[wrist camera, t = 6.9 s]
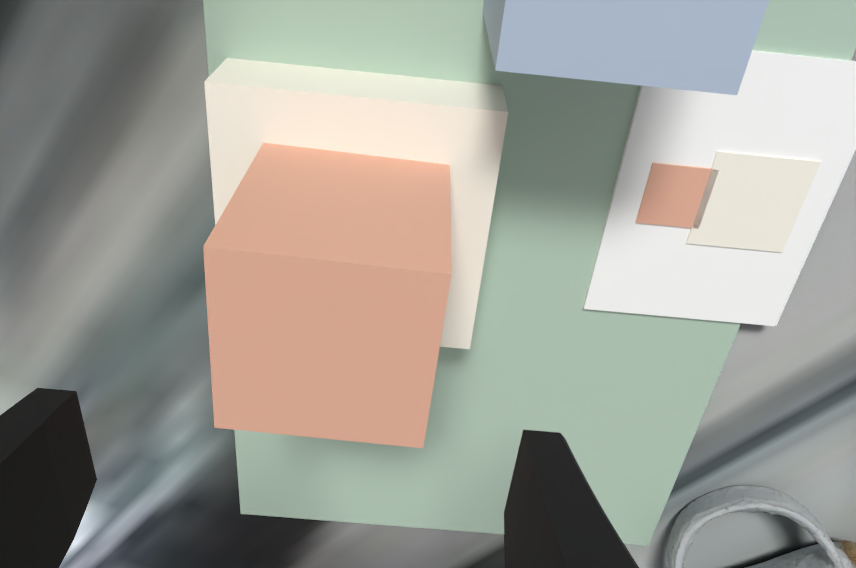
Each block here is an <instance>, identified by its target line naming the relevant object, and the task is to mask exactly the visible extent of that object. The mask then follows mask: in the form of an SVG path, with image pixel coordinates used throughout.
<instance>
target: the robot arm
mask: <svg viewBox="0 0 856 568" xmlns="http://www.w3.org/2000/svg"><path fill="white" fill-rule="evenodd" d="M96 480H97V478H96V474H95V470H94V465H93V461H92V457H91V453H90V448H89V444H88V440H87V435H86V431H85V427H84V422H83V418H82V414H81V410H80V405H79V401H78V397H77V392H76V391H67V390H56V389H44V388H37V389H36V390H34V391H33V392H31V393H30V394H29V395H27V396H26V397H24V398H23V399H22V400H20V401H19V402H18V403H16V404H15V405H14V406H12V407H11V408H10V409H8V410H7V411H6V412H4V413H3V414H2V415H0V568H59V566H60V564H61V562H62V560H63V559H64V557H65V555H66V553H67V551H68V549H69V547H70V545H71V543H72V541H73V540H74V537H75V535H76V532H77V530H78V527H79V525H80V522H81V520H82V517H83V515H84V512H85V510H86V507H87V504H88V502H89V499H90V496H91V494H92V491H93V488H94V486H95V483H96ZM504 545H505V568H639V567H638V565H637V564H636V562H635V561H634V559H633V558H632V556H631V555H630V553H629V551H628V550H627V548H626V546H625V545H624V543H623V542H622V540H621V538H620V537H619V535H618V533H617V532H616V530H615V529H614V527H613V525H612V524H611V522H610V521H609V519H608V517H607V515H606V514H605V512H604V510H603V509H602V507H601V505H600V503H599V502H598V500H597V498H596V496H595V494H594V493H593V491H592V489H591V487H590V485H589V484H588V482H587V480H586V478H585V476H584V474H583V472H582V471H581V469H580V467H579V465H578V463H577V461H576V459H575V457H574V455H573V453H572V451H571V449H570V447H569V445H568V443H567V441H566V439H565V438H564V436H563V435H562V434H561V433H558V432H547V431H535V430H523V432H522V437H521V441H520V445H519V450H518V454H517V458H516V463H515V467H514V471H513V475H512V480H511V484H510V488H509V493H508V497H507V501H506V505H505V510H504Z"/></svg>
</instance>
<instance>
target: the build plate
mask: <svg viewBox="0 0 856 568" xmlns="http://www.w3.org/2000/svg"><path fill="white" fill-rule="evenodd" d="M483 4H484V0H203V8H204V21H205V35H206V48H207V62H208V76H210V75H211V74H212V73H213V72H214V71H215V70H216V69H217V68H218V67H219V66H220V65H221V64H222V63H223V61H224V60H225V59H226V58H234V59H244V60H254V61H264V62H273V63H283V64H293V65H303V66H313V67H323V68H333V69H343V70H352V71H362V72H372V73H382V74H392V75H402V76H412V77H422V78H431V79H441V80H451V81H461V82H471V83H481V84H491V85H501V86H502V87H503V91H504V95H505V100H506V104H507V109H508V117H507V123H506V129H505V135H504V142H503V148H502V154H501V160H500V166H499V172H498V179H497V185H496V191H495V197H494V203H493V209H492V216H491V222H490V228H489V234H488V240H487V246H486V253H485V259H484V265H483V271H482V277H481V283H480V290H479V296H478V302H477V308H476V314H475V320H474V327H473V333H472V339H471V345H470V349H462V348H451V347H440V348H439V355H438V361H437V367H436V373H435V379H434V385H433V391H432V398H431V404H430V410H429V416H428V422H427V428H426V434H425V440H424V447H423V448H415V447H405V446H395V445H385V444H374V443H364V442H354V441H344V440H334V439H324V438H314V437H304V436H294V435H284V434H274V433H264V432H254V431H244V430H235V443H236V457H237V470H238V484H239V498H240V511H241V514H250V515H263V516H276V517H288V518H301V519H314V520H327V521H340V522H352V523H365V524H378V525H391V526H403V527H416V528H429V529H442V530H455V531H467V532H480V533H493V534H504V510H505V505H506V501H507V497H508V493H509V488H510V484H511V480H512V475H513V471H514V467H515V463H516V458H517V454H518V450H519V445H520V441H521V437H522V432H523V430H535V431H547V432H558V433H561V434H562V435H563V436H564V438H565V439H566V441H567V443H568V445H569V447H570V449H571V451H572V453H573V455H574V457H575V459H576V461H577V463H578V465H579V467H580V469H581V471H582V472H583V474H584V476H585V478H586V480H587V482H588V484H589V485H590V487H591V489H592V491H593V493H594V494H595V496H596V498H597V500H598V502H599V503H600V505H601V507H602V509H603V510H604V512H605V514H606V515H607V517H608V519H609V521H610V522H611V524H612V525H613V527H614V529H615V530H616V532H617V533H618V535H619V537H620V538H621V540H622V542H623V543H624V544H633V545H646V546H649V543H650V541H651V538H652V536H653V534H654V531H655V529H656V526H657V524H658V522H659V519H660V517H661V514H662V512H663V510H664V507H665V505H666V502H667V500H668V498H669V495H670V493H671V490H672V488H673V486H674V483H675V481H676V478H677V476H678V474H679V471H680V469H681V466H682V464H683V462H684V459H685V457H686V454H687V452H688V450H689V447H690V445H691V442H692V440H693V438H694V435H695V433H696V430H697V428H698V426H699V423H700V421H701V418H702V416H703V414H704V411H705V409H706V406H707V404H708V402H709V399H710V397H711V394H712V392H713V390H714V387H715V385H716V382H717V380H718V378H719V375H720V373H721V370H722V368H723V366H724V363H725V361H726V358H727V356H728V354H729V351H730V349H731V346H732V344H733V342H734V339H735V337H736V334H737V332H738V330H739V327H740V325H741V323H734V322H723V321H712V320H701V319H689V318H678V317H667V316H656V315H645V314H634V313H623V312H612V311H601V310H590V309H584V308H583V304H584V300H585V296H586V293H587V289H588V285H589V281H590V277H591V274H592V270H593V266H594V262H595V258H596V254H597V251H598V247H599V243H600V239H601V235H602V231H603V228H604V224H605V220H606V216H607V212H608V209H609V205H610V201H611V197H612V193H613V189H614V186H615V182H616V178H617V174H618V170H619V167H620V163H621V159H622V155H623V151H624V147H625V144H626V140H627V136H628V132H629V128H630V125H631V121H632V117H633V113H634V109H635V105H636V102H637V98H638V94H639V90H640V86H641V85H631V84H621V83H612V82H602V81H592V80H582V79H572V78H563V77H553V76H543V75H533V74H523V73H514V72H504V71H495V67H494V63H493V58H492V53H491V48H490V44H489V39H488V34H487V30H486V25H485V20H484V15H483ZM855 49H856V0H769V2H768V5H767V8H766V11H765V14H764V17H763V20H762V23H761V26H760V29H759V32H758V35H757V38H756V41H755V44H754V47H753V50H756V51H765V52H775V53H785V54H794V55H804V56H813V57H823V58H833V59H842V60H851V58H852V56H853V54H854V51H855Z"/></svg>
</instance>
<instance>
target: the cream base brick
mask: <svg viewBox="0 0 856 568" xmlns="http://www.w3.org/2000/svg"><path fill="white" fill-rule="evenodd" d="M204 83H205V96H206V109H207V122H208V135H209V148H210V161H211V174H212V187H213V200H214V213H215V225H216V224H217V222H218V220H219V218H220V217H221V215H222V213H223V211H224V210H225V208H226V206H227V205H228V203H229V201H230V199H231V198H232V196H233V194H234V192H235V191H236V189H237V187H238V185H239V184H240V182H241V180H242V179H243V177H244V175H245V173H246V172H247V170H248V168H249V166H250V165H251V163H252V161H253V159H254V158H255V156H256V154H257V152H258V151H259V149H260V147H261V146H262V144H263V143H271V144H280V145H288V146H297V147H305V148H313V149H322V150H330V151H338V152H347V153H355V154H364V155H372V156H380V157H389V158H397V159H406V160H414V161H422V162H431V163H439V164H447V165H450V211H451V269H452V275H451V281H450V287H449V293H448V299H447V305H446V312H445V318H444V324H443V330H442V336H441V342H440V347H451V348H462V349H470V345H471V339H472V333H473V327H474V320H475V314H476V308H477V302H478V296H479V290H480V283H481V277H482V271H483V265H484V259H485V253H486V246H487V240H488V234H489V228H490V222H491V216H492V209H493V203H494V197H495V191H496V185H497V179H498V172H499V166H500V160H501V154H502V148H503V142H504V135H505V129H506V123H507V117H508V109H507V104H506V100H505V95H504V91H503V87H502V86H501V85H491V84H481V83H471V82H461V81H451V80H441V79H431V78H422V77H412V76H402V75H392V74H382V73H372V72H362V71H352V70H343V69H333V68H323V67H313V66H303V65H293V64H283V63H273V62H264V61H254V60H244V59H234V58H226V59H225V60H224V61H223V63H222V64H221V65H220V66H219V67H218V68H217V69H216V70H215V71H214V72H213V73H212V74H211V75H210V76H209V77H208V78H207V79H206V80H205V82H204Z"/></svg>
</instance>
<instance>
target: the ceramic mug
mask: <svg viewBox="0 0 856 568" xmlns="http://www.w3.org/2000/svg"><path fill="white" fill-rule="evenodd" d="M757 511H762V512H768V513H769V514H778V515H783V516H785V517H788V518H789V519H791V520H793V521H794V522H796V523H797V524H798V525H800V526H801V527H803V528H805V529H807V530H808V531H809V533H810V534H811V535H812V536H813V538H814V539H815V540H816V541H817V542H818V545H813V546H809V547H805V548H801V549H799V550H796V551H793V552H790V553H787V554H785V555H782V556H779V557H777V558H774V559H771V560H769V561H766V562H763V563H760V564H756V565H753V566H749V567H746V568H856V543H854V542H851V541H837V542H832V541H831V539H830V537H829V536H828V533H827V531H826V530H825V528H824V527H823V526H822V524H821V523H820V522H819V521H818V520H817V519H816V518H815V517H814V516H813V515H812V514H811V513H810V512H809V510H808V509H807V508H806V507H805V506H804V505H802V504H801V503H799V502H798V501H796V500H795V499H793V498H792V497H790V496H789V495H787V494H785V493H783V492H780V491H778V490H775V489H771V488H768V487H761V486H753V485H739V486H729V487H724V488H721V489H718V490H715V491H712V492H710V493H708V494H705V495H703V496H700V497H698V498H697V499H695V500H693V501H692V502H691V503H690V504H689V505H688V506H686V507H685V508H684V509H683V510H682V511H681V512H680V514H679V515H678V517H677V519H676V521H675V523H674V525H673V527H672V530H671V532H670V535H669V541H668V555H667V556H668V562H669V568H683V565H684V560H685V557H686V555H687V552H688V548H689V546H690V545H691V544H692V541H693V538H694V535H695V534H696V533H697V532H698V531H699V529H700V528H701V527H702V526H703V525H704V524H705V523H706V522H707V521H709V520H711V519H713V518H714V517H719V516H721V515H723V514H728V513H731V512H757Z"/></svg>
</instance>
